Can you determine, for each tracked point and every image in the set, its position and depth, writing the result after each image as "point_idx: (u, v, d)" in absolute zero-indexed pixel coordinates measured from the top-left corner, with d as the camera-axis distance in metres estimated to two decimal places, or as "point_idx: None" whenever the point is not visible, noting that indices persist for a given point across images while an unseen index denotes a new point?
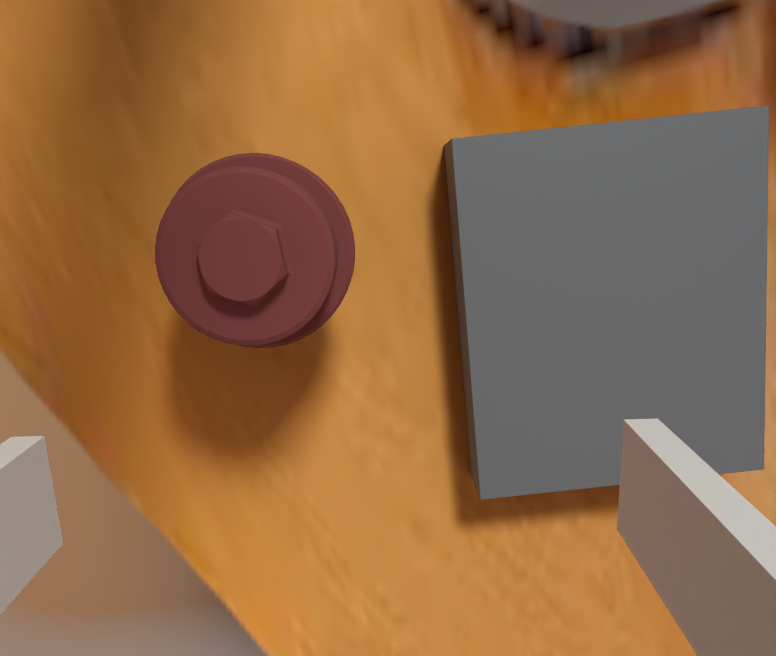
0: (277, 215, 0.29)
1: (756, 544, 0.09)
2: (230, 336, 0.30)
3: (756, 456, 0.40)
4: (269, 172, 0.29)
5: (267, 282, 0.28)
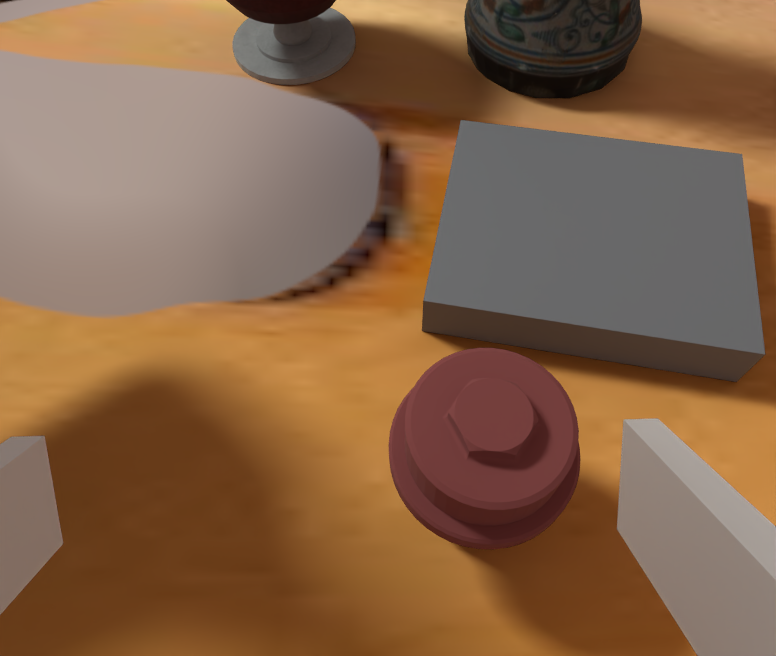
0: (459, 382, 0.31)
1: (756, 544, 0.09)
2: (565, 459, 0.29)
3: (730, 157, 0.49)
4: (420, 379, 0.32)
5: (520, 397, 0.30)
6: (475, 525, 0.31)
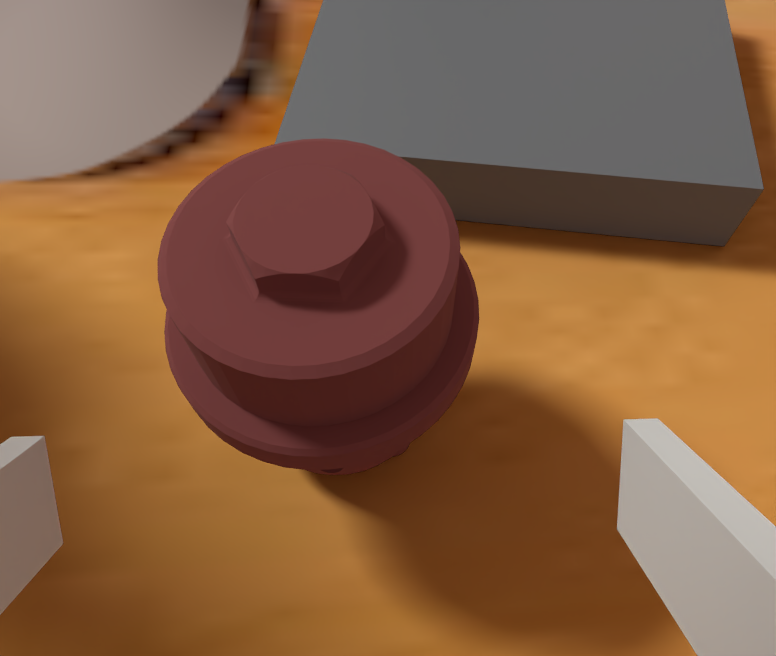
0: None
1: (756, 544, 0.09)
2: (433, 291, 0.16)
3: None
4: (197, 186, 0.19)
5: (352, 189, 0.17)
6: (295, 426, 0.18)
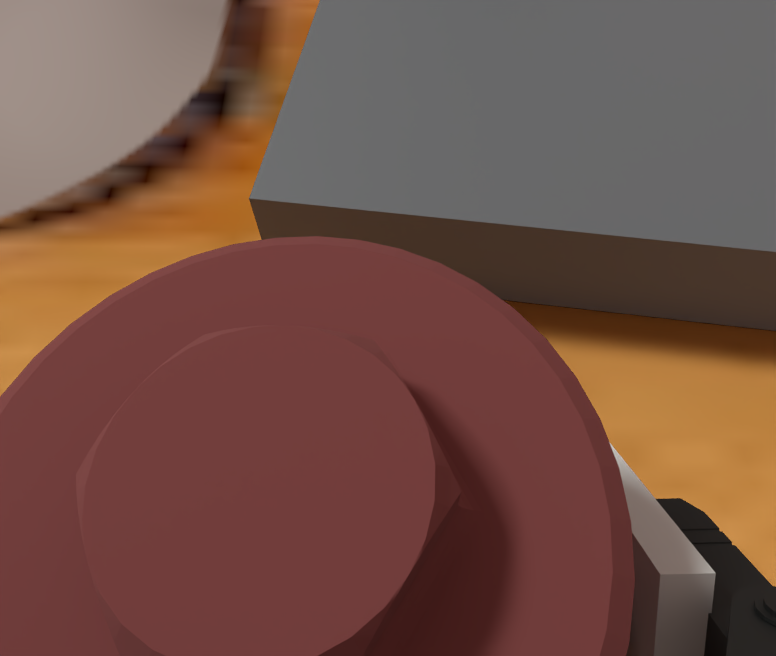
0: None
1: (630, 510, 0.10)
2: None
3: None
4: (47, 346, 0.09)
5: (382, 395, 0.07)
6: None
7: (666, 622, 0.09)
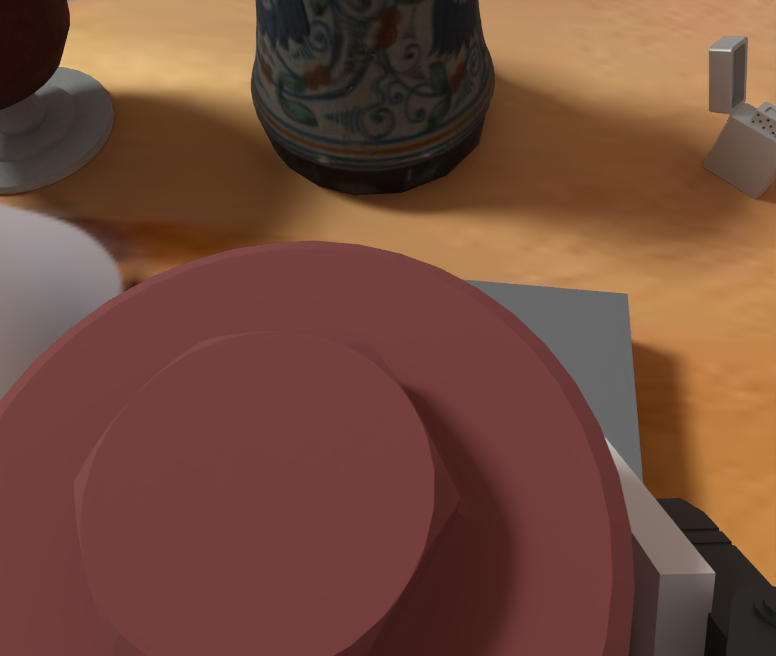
0: None
1: (630, 510, 0.10)
2: None
3: (609, 300, 0.33)
4: (45, 352, 0.09)
5: (380, 402, 0.07)
6: None
7: (666, 622, 0.09)
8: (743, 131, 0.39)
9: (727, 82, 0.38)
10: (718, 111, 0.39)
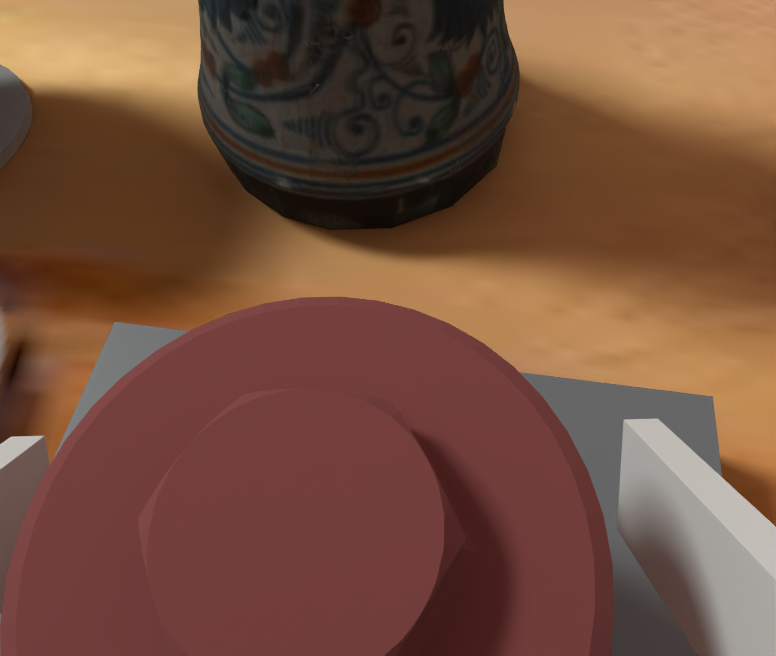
0: (221, 405, 0.10)
1: (756, 544, 0.09)
2: None
3: (686, 405, 0.22)
4: (103, 397, 0.10)
5: (398, 453, 0.08)
6: None
7: None
8: None
9: None
10: None
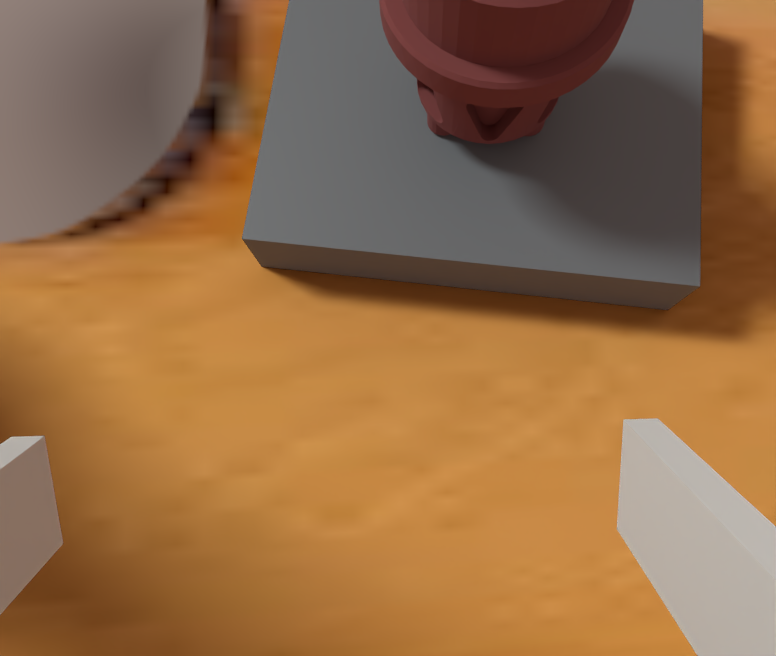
0: None
1: (756, 544, 0.09)
2: None
3: None
4: None
5: None
6: (497, 67, 0.23)
7: None
8: None
9: None
10: None
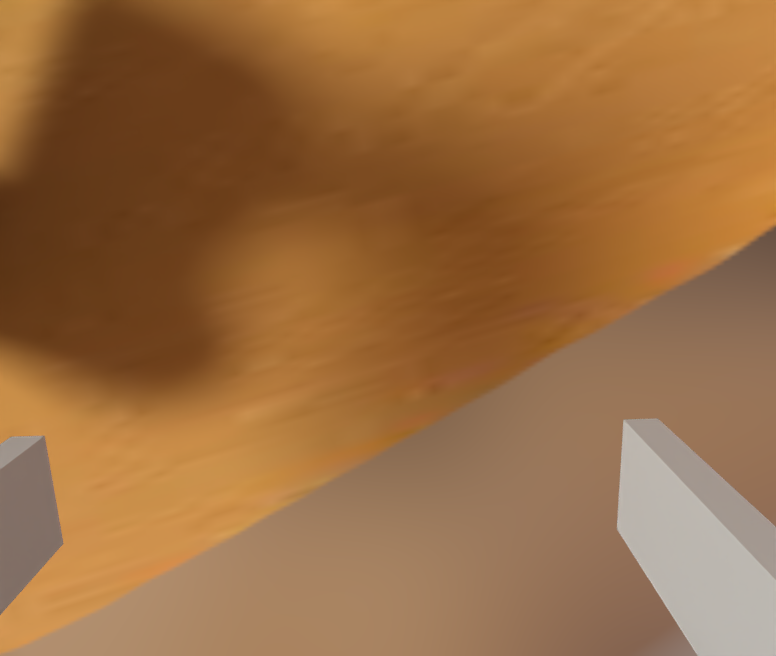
0: None
1: (756, 544, 0.09)
2: None
3: None
4: None
5: None
6: None
7: None
8: None
9: None
10: None
